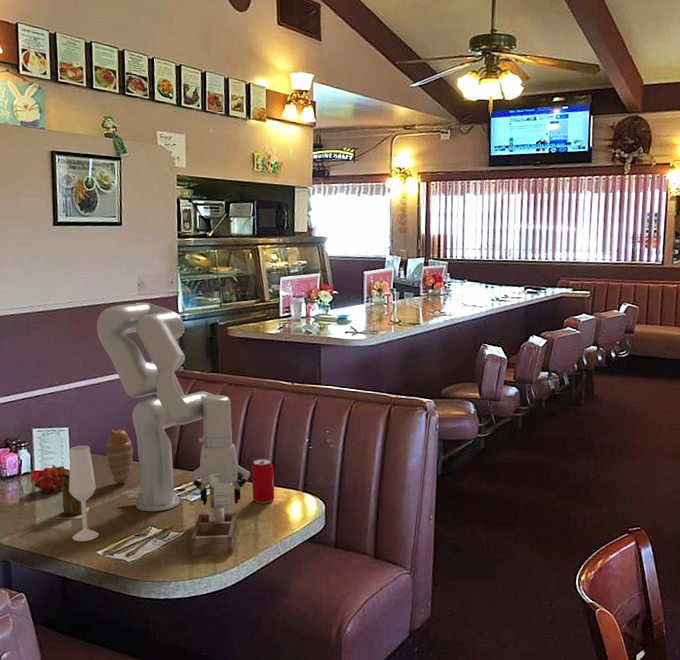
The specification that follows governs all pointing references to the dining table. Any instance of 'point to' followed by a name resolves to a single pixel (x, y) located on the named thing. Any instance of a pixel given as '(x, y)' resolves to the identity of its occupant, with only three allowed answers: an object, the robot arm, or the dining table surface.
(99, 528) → the dining table surface
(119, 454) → the cat ice cream
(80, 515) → the condiment
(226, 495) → the syrup box
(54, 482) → the dragon fruit
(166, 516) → the dining table surface
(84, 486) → the champagne flute
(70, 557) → the dining table surface
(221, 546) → the caddy
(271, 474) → the beverage can
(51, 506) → the dining table surface
